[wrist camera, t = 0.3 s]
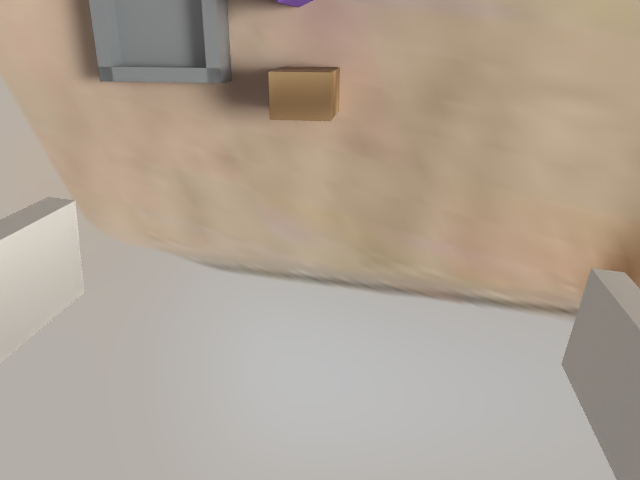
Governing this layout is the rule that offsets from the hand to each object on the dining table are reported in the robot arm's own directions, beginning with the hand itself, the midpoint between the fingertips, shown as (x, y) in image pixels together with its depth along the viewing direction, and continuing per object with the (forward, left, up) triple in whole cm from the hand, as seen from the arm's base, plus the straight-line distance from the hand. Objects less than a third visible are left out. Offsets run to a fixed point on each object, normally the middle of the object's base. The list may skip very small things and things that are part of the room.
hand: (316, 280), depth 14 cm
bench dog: (-2, -4, -27) cm, 28 cm away
